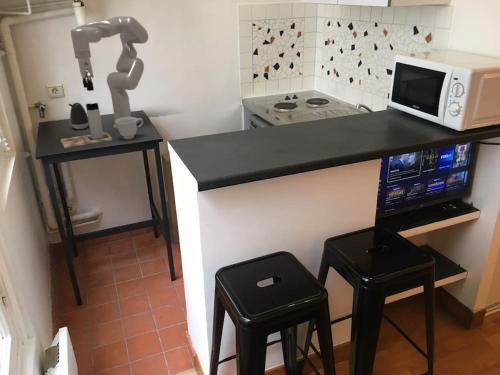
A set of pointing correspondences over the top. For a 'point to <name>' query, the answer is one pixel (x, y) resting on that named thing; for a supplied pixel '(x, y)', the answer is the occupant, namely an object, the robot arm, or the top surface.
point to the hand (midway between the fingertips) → (88, 88)
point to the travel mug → (94, 121)
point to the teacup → (128, 126)
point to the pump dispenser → (78, 116)
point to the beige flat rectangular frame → (79, 140)
